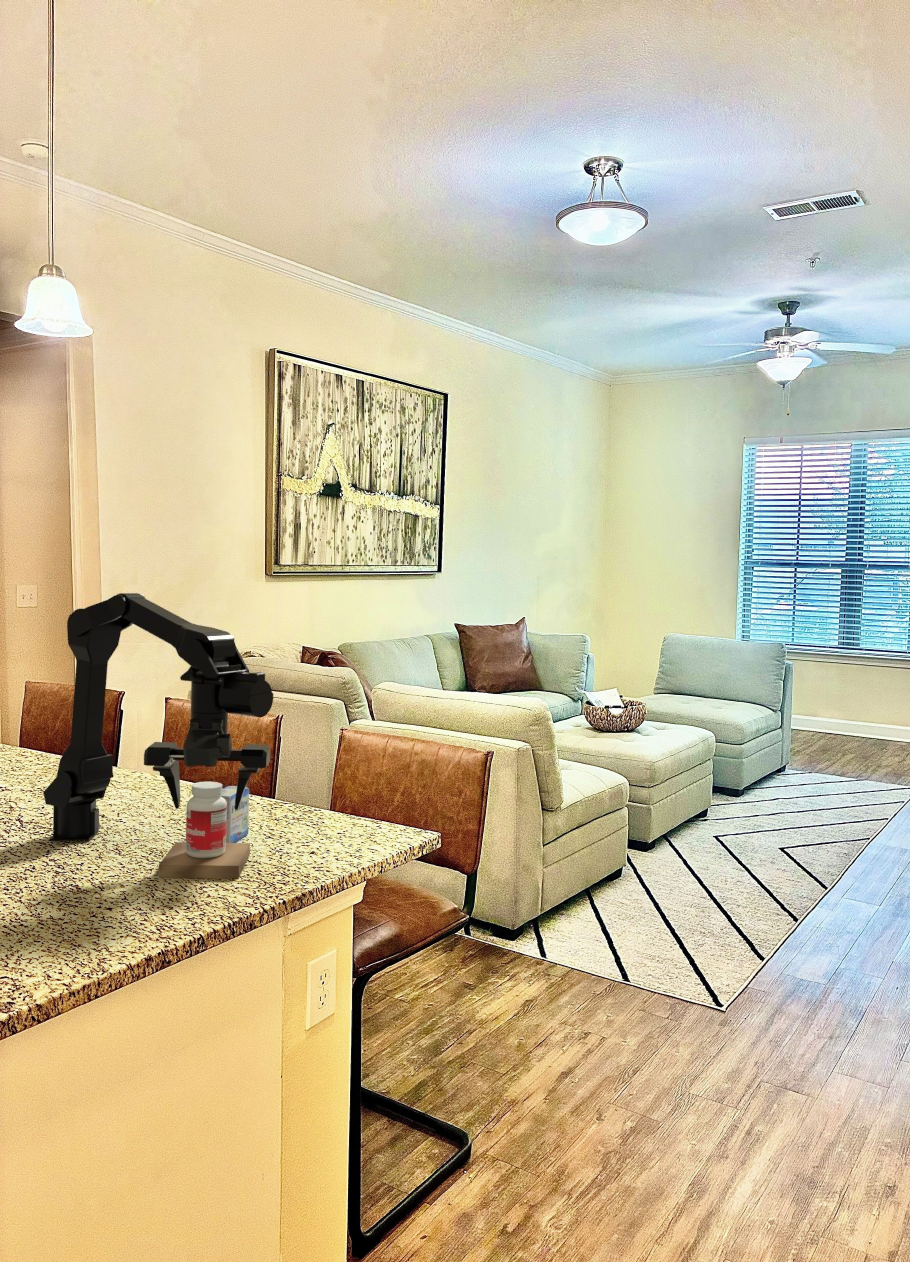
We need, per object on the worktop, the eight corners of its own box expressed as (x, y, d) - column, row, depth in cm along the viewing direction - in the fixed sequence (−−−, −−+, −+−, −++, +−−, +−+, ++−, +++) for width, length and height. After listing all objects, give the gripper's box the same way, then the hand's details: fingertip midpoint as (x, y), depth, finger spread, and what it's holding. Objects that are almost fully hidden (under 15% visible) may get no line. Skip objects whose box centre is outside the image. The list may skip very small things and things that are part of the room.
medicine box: (229, 847, 161) (230, 796, 160) (205, 844, 162) (206, 794, 161) (248, 835, 169) (250, 787, 168) (225, 832, 170) (226, 785, 169)
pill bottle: (177, 853, 150) (179, 784, 149) (210, 845, 154) (211, 778, 154) (200, 862, 146) (202, 791, 145) (233, 853, 150) (235, 785, 150)
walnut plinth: (158, 877, 144) (158, 864, 144) (175, 854, 156) (175, 842, 156) (238, 878, 145) (239, 865, 145) (249, 855, 157) (249, 843, 157)
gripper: (135, 717, 140) (133, 821, 141) (263, 720, 141) (260, 823, 142) (153, 706, 151) (151, 803, 152) (271, 709, 153) (269, 805, 154)
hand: (207, 808), depth 150 cm, fingers open, 9 cm apart
